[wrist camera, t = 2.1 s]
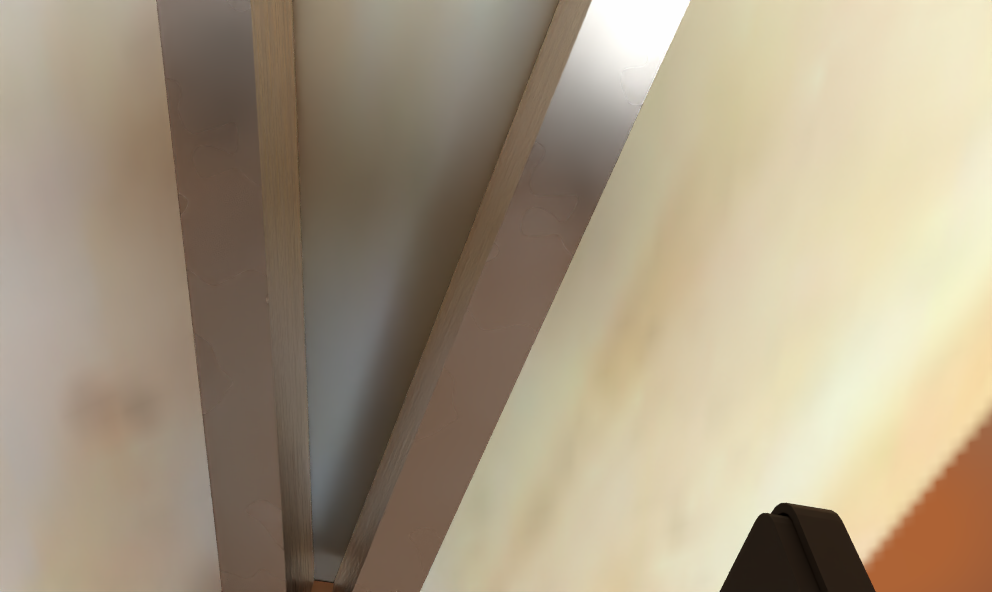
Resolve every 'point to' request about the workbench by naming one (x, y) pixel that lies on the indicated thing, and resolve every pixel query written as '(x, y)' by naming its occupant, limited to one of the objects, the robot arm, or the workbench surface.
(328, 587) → the pivot block
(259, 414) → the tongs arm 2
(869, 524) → the workbench surface
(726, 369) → the workbench surface
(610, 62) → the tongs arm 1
